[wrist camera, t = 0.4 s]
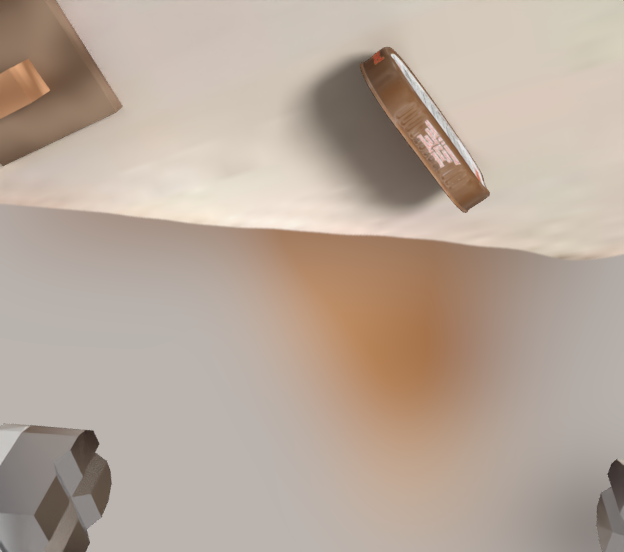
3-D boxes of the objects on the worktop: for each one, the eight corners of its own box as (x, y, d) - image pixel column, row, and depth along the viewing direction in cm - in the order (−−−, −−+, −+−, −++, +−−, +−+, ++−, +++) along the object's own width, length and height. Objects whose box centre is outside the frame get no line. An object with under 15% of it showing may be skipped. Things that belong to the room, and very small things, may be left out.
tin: (359, 53, 49) (352, 85, 42) (391, 28, 48) (389, 57, 41) (458, 186, 55) (466, 233, 48) (488, 168, 54) (501, 213, 47)
